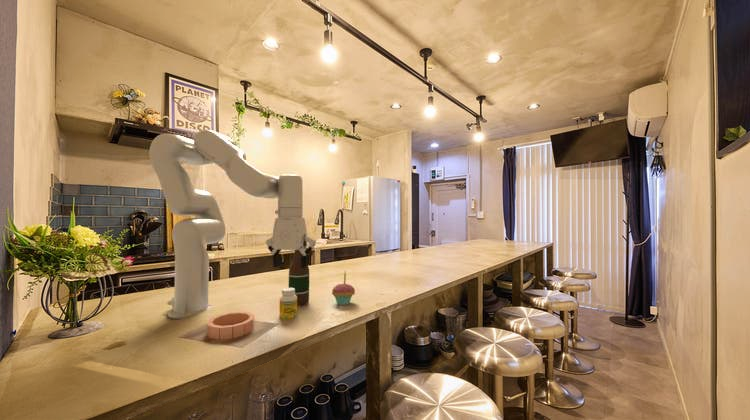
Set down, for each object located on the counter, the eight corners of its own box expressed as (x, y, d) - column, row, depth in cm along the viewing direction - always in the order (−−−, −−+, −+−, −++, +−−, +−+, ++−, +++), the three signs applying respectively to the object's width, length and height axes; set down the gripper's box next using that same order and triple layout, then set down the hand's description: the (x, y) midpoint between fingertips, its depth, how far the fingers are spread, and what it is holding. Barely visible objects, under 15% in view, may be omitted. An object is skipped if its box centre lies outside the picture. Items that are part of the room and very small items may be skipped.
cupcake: (335, 299, 109) (336, 268, 109) (356, 300, 108) (357, 269, 108) (329, 306, 101) (329, 273, 101) (352, 307, 100) (352, 274, 100)
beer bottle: (306, 306, 100) (307, 240, 100) (284, 306, 100) (285, 240, 100) (311, 300, 108) (312, 238, 108) (291, 299, 108) (292, 238, 108)
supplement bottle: (294, 315, 92) (294, 286, 92) (299, 320, 87) (299, 289, 87) (277, 318, 89) (277, 288, 89) (281, 324, 84) (282, 292, 84)
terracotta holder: (196, 336, 73) (197, 324, 73) (229, 320, 84) (230, 310, 84) (233, 341, 70) (233, 329, 70) (262, 324, 81) (262, 314, 81)
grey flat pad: (177, 341, 72) (177, 336, 72) (222, 320, 86) (222, 316, 86) (242, 352, 67) (242, 347, 67) (278, 327, 81) (278, 323, 81)
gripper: (259, 213, 87) (259, 268, 87) (309, 213, 82) (309, 270, 82) (273, 213, 94) (273, 264, 94) (320, 213, 90) (320, 266, 89)
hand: (290, 267), depth 88 cm, fingers open, 9 cm apart
